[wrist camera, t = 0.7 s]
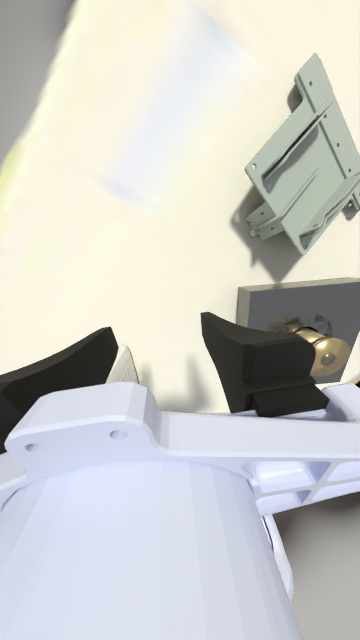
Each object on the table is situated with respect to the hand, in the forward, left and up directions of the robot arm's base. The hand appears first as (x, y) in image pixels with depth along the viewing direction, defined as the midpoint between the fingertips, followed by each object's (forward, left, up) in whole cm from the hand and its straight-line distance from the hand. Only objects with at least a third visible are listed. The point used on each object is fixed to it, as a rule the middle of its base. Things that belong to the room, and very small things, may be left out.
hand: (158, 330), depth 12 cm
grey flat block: (-7, -19, -10) cm, 22 cm away
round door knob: (-7, -19, -10) cm, 22 cm away
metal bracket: (+12, -17, -11) cm, 24 cm away
